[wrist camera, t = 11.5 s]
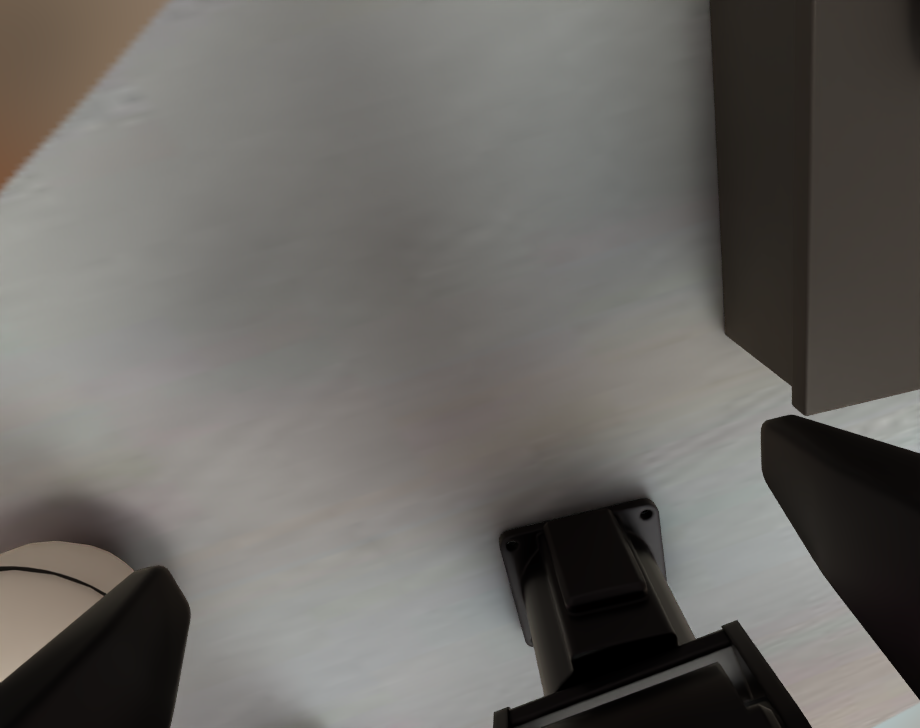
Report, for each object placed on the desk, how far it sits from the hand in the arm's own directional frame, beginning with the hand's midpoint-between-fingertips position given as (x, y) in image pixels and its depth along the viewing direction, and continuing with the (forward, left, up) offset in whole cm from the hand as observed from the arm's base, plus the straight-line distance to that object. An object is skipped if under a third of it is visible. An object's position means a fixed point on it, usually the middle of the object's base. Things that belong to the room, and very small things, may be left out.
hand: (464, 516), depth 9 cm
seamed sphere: (-7, +17, -12) cm, 22 cm away
